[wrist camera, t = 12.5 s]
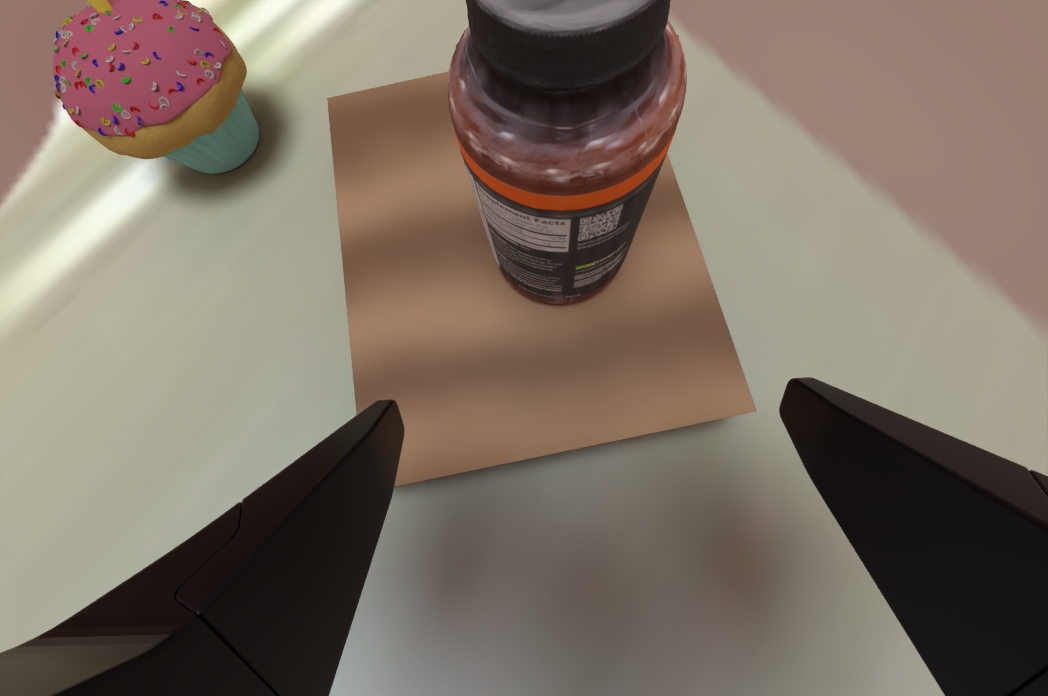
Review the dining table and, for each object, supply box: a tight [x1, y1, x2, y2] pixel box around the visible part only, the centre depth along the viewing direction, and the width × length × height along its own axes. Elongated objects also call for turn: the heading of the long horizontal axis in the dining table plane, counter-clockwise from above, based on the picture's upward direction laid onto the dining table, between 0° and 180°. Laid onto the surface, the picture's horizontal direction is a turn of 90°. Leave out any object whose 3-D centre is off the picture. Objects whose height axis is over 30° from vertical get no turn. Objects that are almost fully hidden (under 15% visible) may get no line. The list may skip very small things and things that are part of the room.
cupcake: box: [53, 0, 259, 174], centre depth 18 cm, size 9×8×12 cm
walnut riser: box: [327, 72, 757, 487], centre depth 20 cm, size 20×16×3 cm
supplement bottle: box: [448, 0, 687, 304], centre depth 12 cm, size 6×6×11 cm
